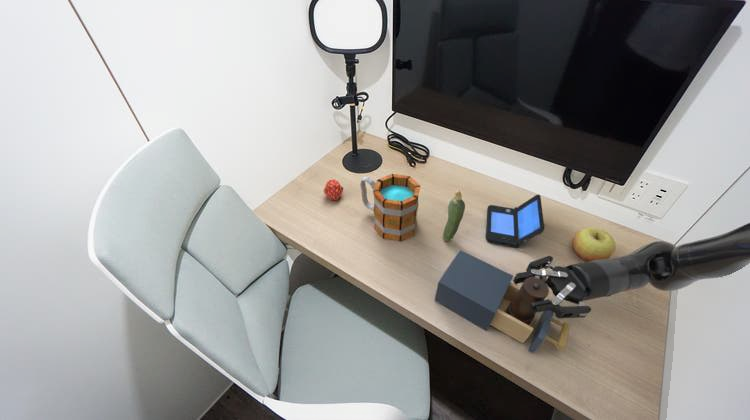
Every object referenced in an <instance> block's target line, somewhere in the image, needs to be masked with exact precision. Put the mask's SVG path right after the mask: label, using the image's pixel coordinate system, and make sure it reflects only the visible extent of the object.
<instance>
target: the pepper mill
mask: <svg viewBox="0 0 750 420" xmlns="http://www.w3.org/2000/svg"><path fill="white" fill-rule="evenodd" d="M520 287H521V288H520V290H519V291H518V293H517V295H516V297H515V299H514V300H512V301H511V302H510V303H509V305H508V307H507V309H506V311H505V313H507V314H509V315H510V316H512V317H514V318H516V319H518V320H520V321H521V322H523V323H525V324H527V325H530V323H531V322H532V323H533V321H534V319H535V318H536V313H535V312H534V311H531V310H530V309H529V306H530V305H531V303H533V302H537V301H542V300H546V298H547V297H548V295H549V294H550V288H549V287H548V285H547V284H546V283H545V282H544V281H542V280H541V279H539V278H536V277H529V278H527V279H525V281H524V282H523V283H521V286H520ZM532 320H533V321H532Z"/></svg>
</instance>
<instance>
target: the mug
mask: <svg viewBox="0 0 750 420" xmlns="http://www.w3.org/2000/svg"><path fill="white" fill-rule="evenodd" d="M366 183H367V184H368V185H369V186H370V188H371V189H372V193H373V199H374V200H373V204H372V203H370V201H369V199H368V192H367V191H368V190H367V185H366ZM359 185H360V191H361V200H362V203H363V206H364V207H365V208H367V209H368V210H372V211H373V216H374V226H373V228H374V230H375V231H376V232H377V234H378V235H379V236H380V237H381V238H382V239H383V240H388V241H393V242H402V241H405V240H407V239H409V238H411V237H413V236H415V233H416V227H417V223H418V222H417V215H418V210H419V197H420V191H421V185H420V184H419V183H418V182H417V181H416V180H415V179H414V178H413V177H411V176H410V175H404V174H397V173H391V174H388V175H385V176H383V177H380V178H378V179H376V181H375V180H374V179H373V178H371V177H370V176H363V177H362V178H361V180H360V182H359Z"/></svg>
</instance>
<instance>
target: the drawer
mask: <svg viewBox="0 0 750 420" xmlns="http://www.w3.org/2000/svg"><path fill="white" fill-rule="evenodd" d="M520 288H521V286H519V285H517V284H515V283H514V282H513V283H512V281H511V282H510V284H509V286H508V289H507V291H506V293H505V295H504V297H503V299H502V301H501V303H500V305H499V307H498V309H497V311H496V313H495V315H494V317H493V319H492V321H491V323H490V325H489V326H492V327H494V328H495V329H497V330H499V331H500V332H502V333H504V334H505V335H507V336H509V337H511V338H513V339H515V340H516V341H518V342H519V343H521V344H525V342H526V341H527V339H528V338H529V337H530V335H531V334H532V332H533V331H534V332H533V335H532V339H531V341H530V344H529V347H528V348H527V351H528V352H530V353H532V354H535V353H536V351H537V350H538V349H539V347H541V345H542V344H543V343H544V342H545V340H546V341H547V342H549V343H551V344H553V345H555V348H557V349H558V350H560V351H563V350H565V347H566V343H567V339H568V337H569V332H570V329H571V324H569V323H567V322H561V321H560V320H558V319H557V318H554V315H555V313H554V312H553V311H550V310H547V311H542V312H541V314H540V316H539V319H538V322H537V324H536V328H535V329H534V327H533V326H532V324H533V321H534V319H533V320H532V322H531V323H530V325H527V324H525V323H523V322H521V321H520V320H518V319H516V318H514V317H512V316H510V315H509V314H507V313H505V311H506V309H507V307H508V305H509V303H510V302H511V301H512V300H514V299H515V297H516V295H517V293H518V291H519V290H520ZM535 314H537V312H535ZM551 322H552V323H554V324H556V325H558V326H559V327H561V329H560V333H559V335H558V339H557V340H555V339H554V338H551V337H549V336H548V335H547V334H548V332H549V329H550V325H551Z"/></svg>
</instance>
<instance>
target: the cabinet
mask: <svg viewBox="0 0 750 420" xmlns="http://www.w3.org/2000/svg"><path fill="white" fill-rule="evenodd" d="M446 268H447V269H446V270H445V271H444V272H443V274H442V276H441V277H440V278H439V280H438V284H437V287H436V290H435V296H434V302H436V303H437V304H439V305H441V306H443V307H444V308H446V309H448V310H450V311H451V312H453V313H455V314H456V315H458V316H460V317H461V318H463V319H465V320H467V322H470V323H472V324H473V325H475V326H477V327H478V328H480V329H482V330H484V331H485V332H487V331H488V329H489V327H490V326H491V325H490V323H491V321H492V319H493V317H494V315H495V313H496V311H497V309H498V307H499V305H500V303H501V301H502V299H503V297H504V295H505V293H506V291H507V289H508V286H509V284H510V282H511V283H512V281H513V279H514V275H513V274H510V272H507V271H505V270H503V269H501V268H498V267H497V266H494V265H492V264H490V263H488V262H486V261H484V260H482V259H480V258H478V257H476V256H474V255H472V254H470V253H468V252H466V251H464V250H461V249H459V251H458V252H457V253H456V255H455V256H454V258H453V259H452V261H451V262H450V264H449V265H448V267H446Z"/></svg>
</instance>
